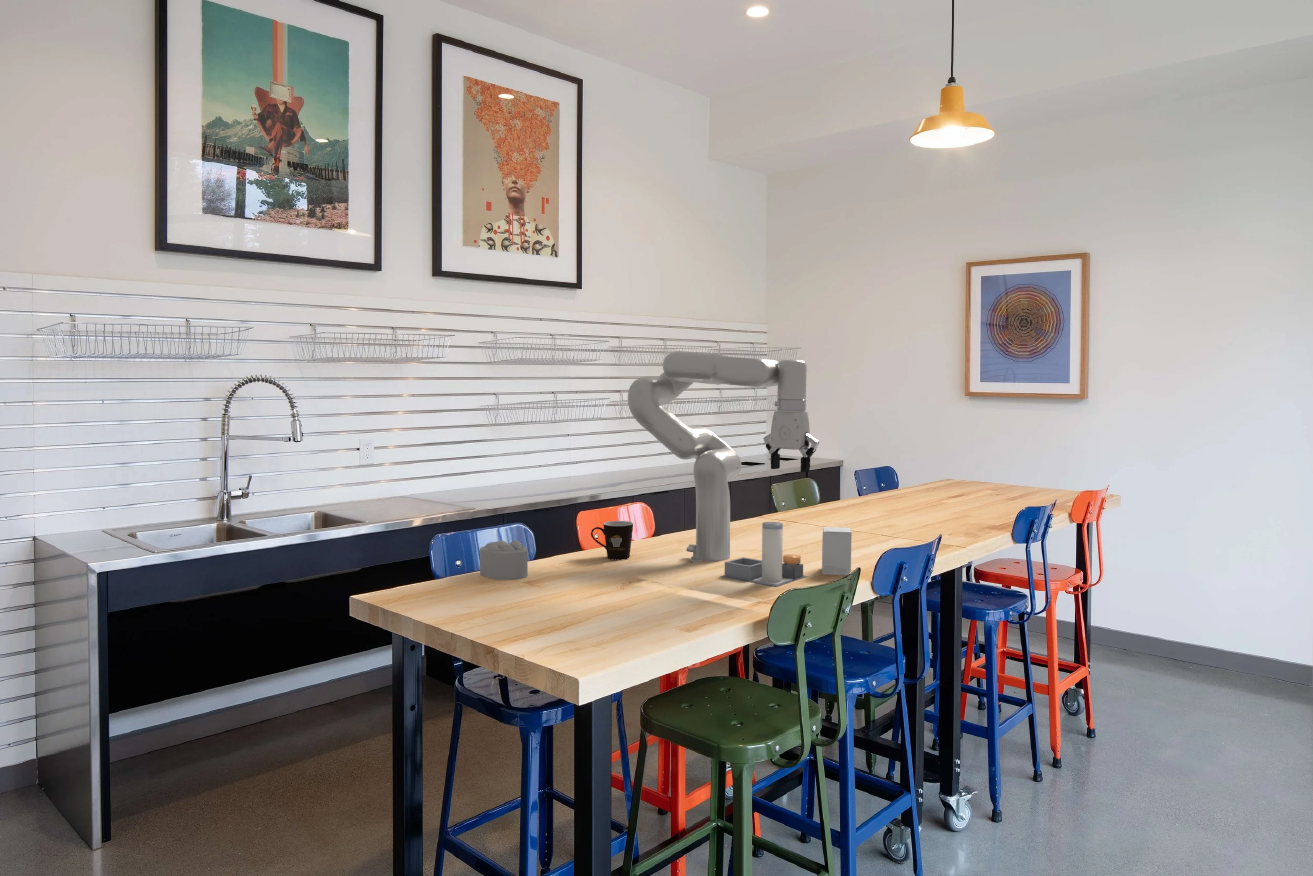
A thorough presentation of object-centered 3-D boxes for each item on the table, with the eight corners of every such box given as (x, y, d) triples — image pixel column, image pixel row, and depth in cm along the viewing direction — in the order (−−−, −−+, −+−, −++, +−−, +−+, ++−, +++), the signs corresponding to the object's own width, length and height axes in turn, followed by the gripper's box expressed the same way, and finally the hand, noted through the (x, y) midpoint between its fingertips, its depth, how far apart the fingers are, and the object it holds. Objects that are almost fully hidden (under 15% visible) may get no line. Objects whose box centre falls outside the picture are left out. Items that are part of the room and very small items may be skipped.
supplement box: (851, 581, 219) (851, 532, 218) (821, 579, 221) (822, 531, 220) (850, 574, 226) (851, 527, 226) (821, 573, 228) (822, 526, 227)
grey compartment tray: (719, 582, 218) (719, 562, 218) (753, 572, 229) (753, 553, 229) (775, 593, 207) (776, 572, 207) (808, 582, 218) (808, 562, 218)
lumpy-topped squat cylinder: (505, 568, 235) (505, 536, 234) (537, 575, 226) (537, 542, 226) (474, 575, 227) (474, 542, 226) (506, 582, 218) (506, 548, 218)
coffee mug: (639, 556, 249) (639, 522, 249) (622, 562, 242) (622, 527, 241) (606, 552, 255) (606, 519, 255) (589, 557, 248) (588, 523, 248)
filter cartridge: (757, 579, 213) (758, 523, 212) (769, 576, 216) (769, 521, 215) (774, 583, 209) (775, 526, 208) (786, 579, 213) (786, 523, 212)
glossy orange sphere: (779, 573, 218) (779, 556, 218) (789, 570, 222) (789, 553, 221) (794, 576, 215) (794, 558, 215) (803, 573, 219) (803, 556, 218)
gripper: (756, 405, 232) (755, 468, 233) (810, 407, 220) (808, 474, 221) (773, 405, 237) (772, 466, 238) (827, 407, 225) (825, 472, 226)
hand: (789, 470), depth 230 cm, fingers open, 9 cm apart
